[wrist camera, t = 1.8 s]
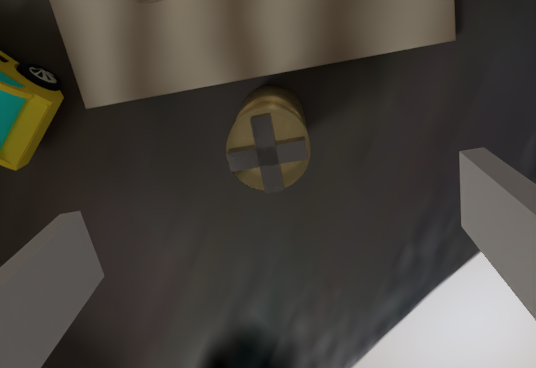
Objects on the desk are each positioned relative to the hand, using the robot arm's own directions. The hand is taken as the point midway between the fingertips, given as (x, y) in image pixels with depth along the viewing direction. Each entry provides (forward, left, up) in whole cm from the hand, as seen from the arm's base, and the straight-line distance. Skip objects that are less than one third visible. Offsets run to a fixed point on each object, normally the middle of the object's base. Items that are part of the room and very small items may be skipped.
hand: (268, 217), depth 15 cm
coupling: (0, 0, -16) cm, 16 cm away
